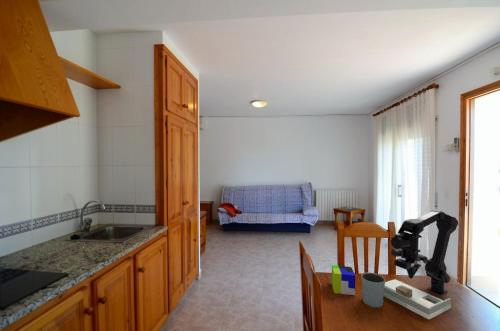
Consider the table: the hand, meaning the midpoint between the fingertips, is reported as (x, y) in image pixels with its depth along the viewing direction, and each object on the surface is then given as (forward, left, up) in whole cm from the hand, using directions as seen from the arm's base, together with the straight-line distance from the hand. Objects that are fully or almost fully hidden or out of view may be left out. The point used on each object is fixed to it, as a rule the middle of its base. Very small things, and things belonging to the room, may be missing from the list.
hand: (410, 278), depth 120 cm
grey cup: (+21, -5, -10) cm, 24 cm away
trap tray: (+2, +1, -9) cm, 9 cm away
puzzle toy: (+24, -20, -10) cm, 33 cm away
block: (+5, 0, -7) cm, 9 cm away
